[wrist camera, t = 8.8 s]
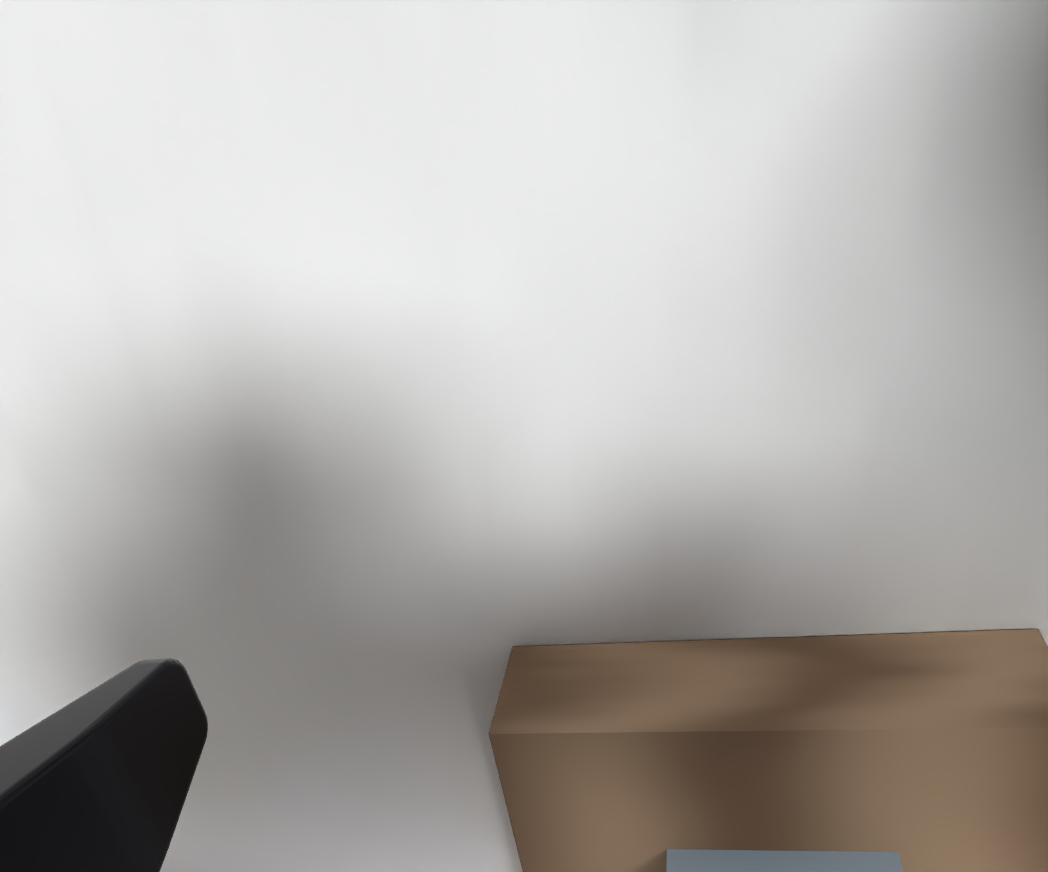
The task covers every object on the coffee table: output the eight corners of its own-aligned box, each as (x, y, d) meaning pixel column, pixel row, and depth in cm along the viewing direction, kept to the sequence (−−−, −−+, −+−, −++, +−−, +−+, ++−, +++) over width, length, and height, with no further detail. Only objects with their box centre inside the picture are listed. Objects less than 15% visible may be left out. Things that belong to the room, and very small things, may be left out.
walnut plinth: (1037, 629, 20) (1090, 726, 18) (1011, 979, 25) (1049, 1097, 23) (512, 646, 23) (489, 734, 20) (582, 960, 28) (570, 1063, 25)
